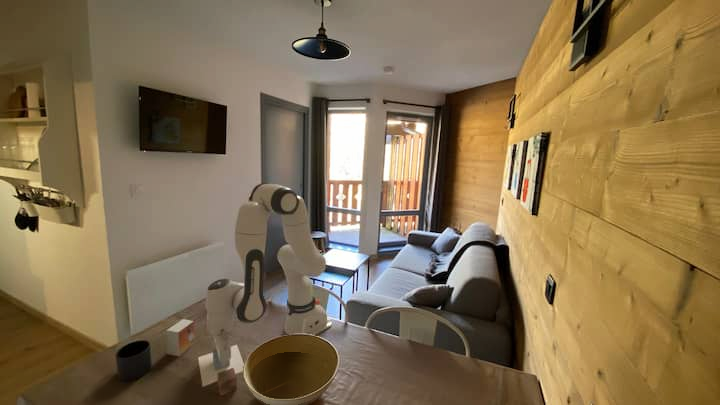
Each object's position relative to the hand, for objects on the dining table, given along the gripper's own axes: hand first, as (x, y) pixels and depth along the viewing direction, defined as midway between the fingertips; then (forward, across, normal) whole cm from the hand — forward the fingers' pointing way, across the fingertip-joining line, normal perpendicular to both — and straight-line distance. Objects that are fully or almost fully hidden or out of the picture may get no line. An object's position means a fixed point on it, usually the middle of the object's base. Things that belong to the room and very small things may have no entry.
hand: (221, 356), depth 102 cm
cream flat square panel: (+3, 0, 0) cm, 3 cm away
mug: (+4, +13, +27) cm, 30 cm away
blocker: (+4, -12, 0) cm, 13 cm away
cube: (+3, 0, 0) cm, 3 cm away
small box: (+4, +17, +12) cm, 21 cm away
